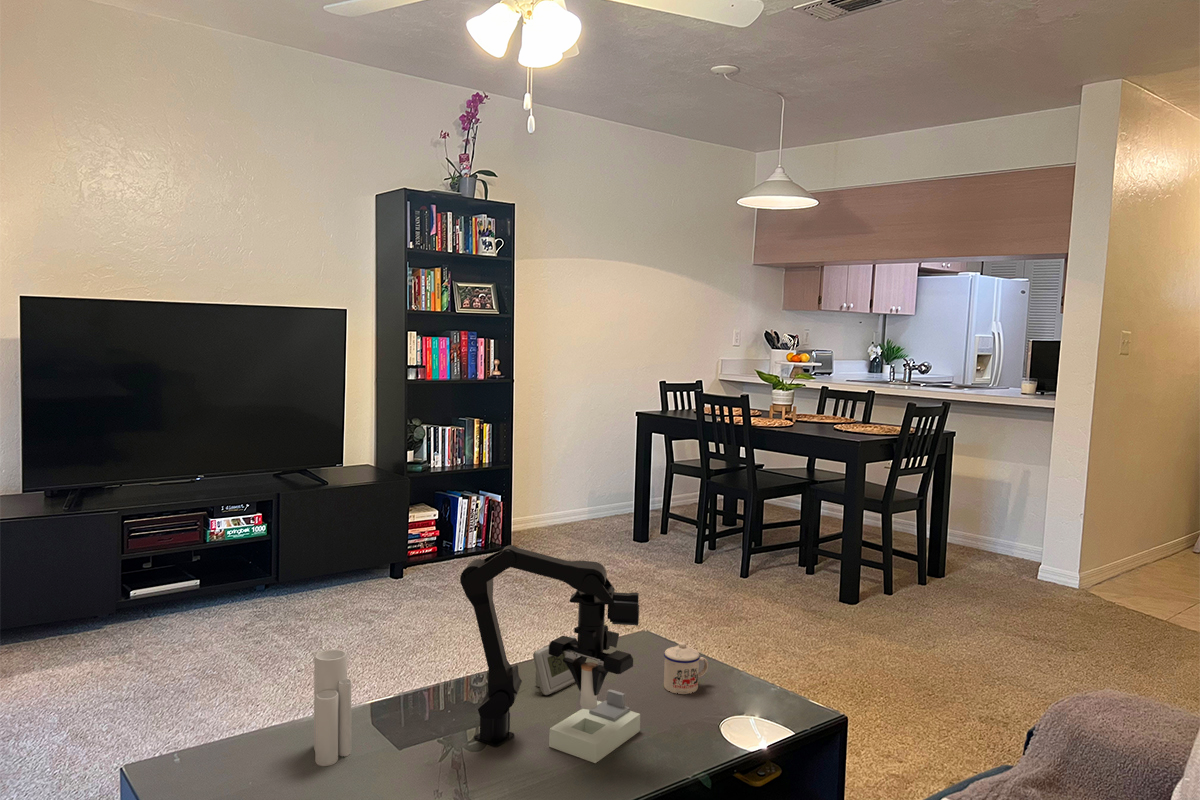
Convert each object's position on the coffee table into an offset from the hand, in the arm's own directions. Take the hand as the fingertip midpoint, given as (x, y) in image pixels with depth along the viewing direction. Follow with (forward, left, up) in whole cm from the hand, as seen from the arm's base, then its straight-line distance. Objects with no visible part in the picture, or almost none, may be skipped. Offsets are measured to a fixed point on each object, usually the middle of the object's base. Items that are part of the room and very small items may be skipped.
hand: (588, 692), depth 185 cm
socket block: (+3, 0, -12) cm, 12 cm away
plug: (0, 0, -3) cm, 3 cm away
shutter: (+9, 0, -8) cm, 11 cm away
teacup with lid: (+40, -3, -12) cm, 42 cm away
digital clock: (+22, +23, -12) cm, 34 cm away
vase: (-35, +41, -12) cm, 55 cm away
